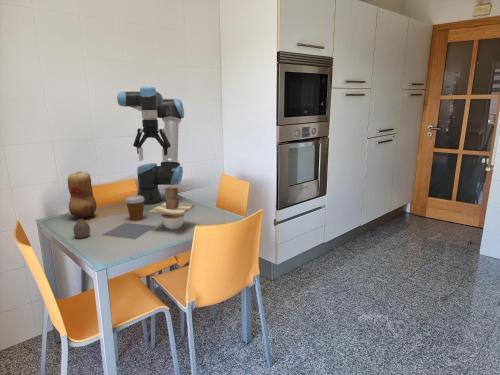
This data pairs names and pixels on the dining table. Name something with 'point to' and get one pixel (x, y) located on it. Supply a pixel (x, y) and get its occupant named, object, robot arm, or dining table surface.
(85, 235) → the vase
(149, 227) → the rubber mat
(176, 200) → the oak lid
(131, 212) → the disposable coffee cup
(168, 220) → the lidded jar
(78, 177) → the butternut squash
